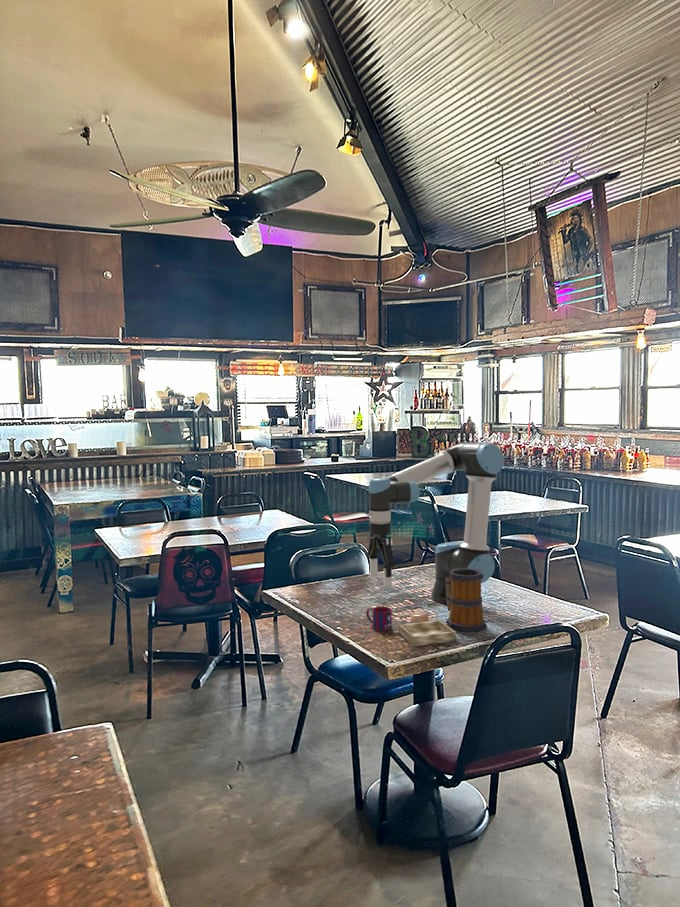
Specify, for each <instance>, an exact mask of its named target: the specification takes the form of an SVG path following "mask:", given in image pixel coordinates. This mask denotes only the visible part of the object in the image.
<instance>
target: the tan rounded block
mask: <svg viewBox="0 0 680 907" xmlns="http://www.w3.org/2000/svg"><path fill="white" fill-rule="evenodd" d="M421 622H429V613H427V612H423V611H416V612H415V611H414V612H411V613H410V624H412V623H421Z"/></svg>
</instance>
